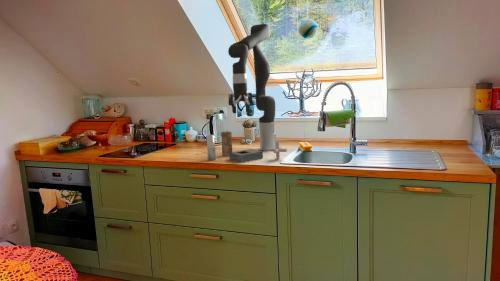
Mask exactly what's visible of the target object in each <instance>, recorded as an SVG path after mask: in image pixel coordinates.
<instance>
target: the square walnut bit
mask: <svg viewBox="0 0 500 281" xmlns="http://www.w3.org/2000/svg"><path fill="white" fill-rule="evenodd" d="M232 133H233V132H232V131H221V132H220V137H221V138H220V141H221V156H222V157H225V158H226V157H229V153H230V152H233V138H232V137H233V135H232Z"/></svg>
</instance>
